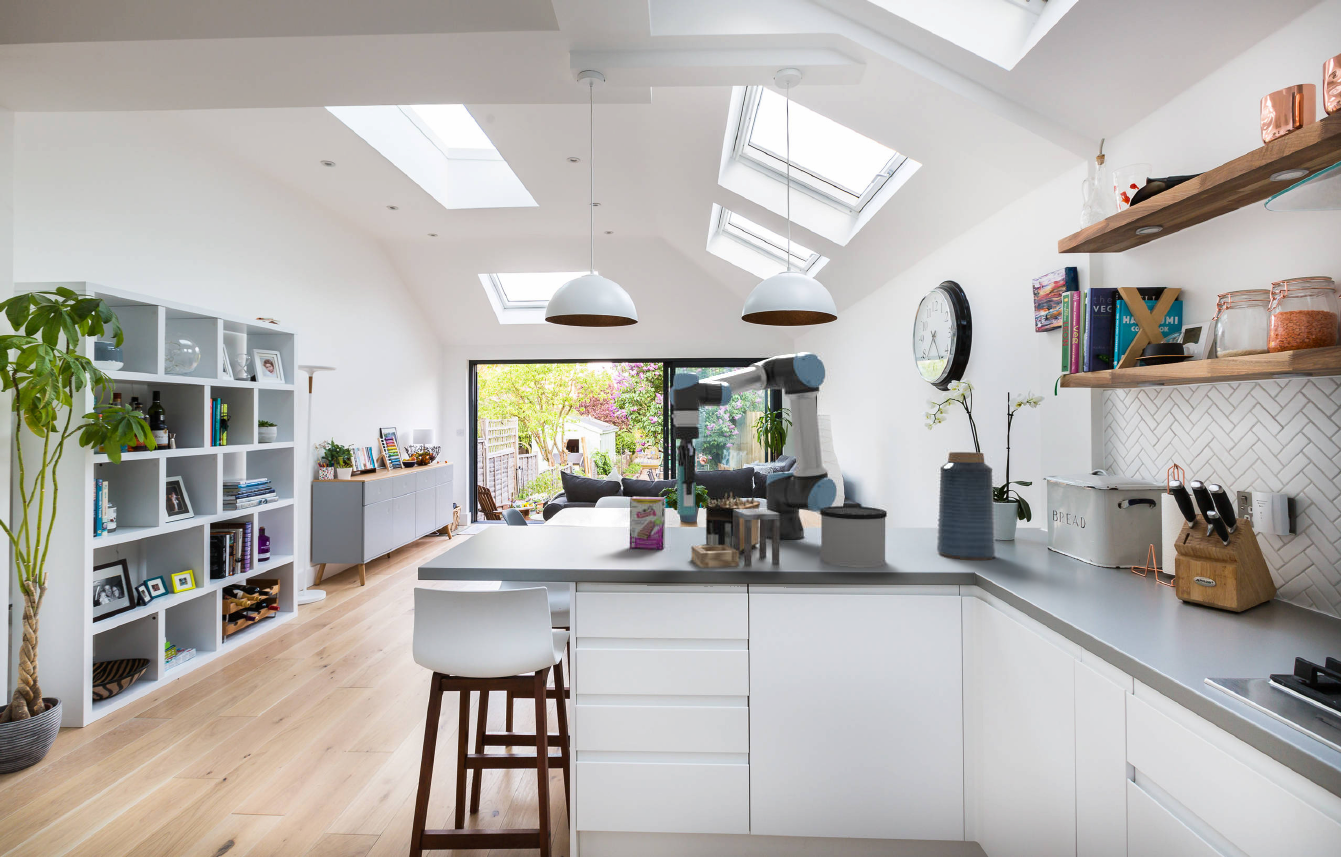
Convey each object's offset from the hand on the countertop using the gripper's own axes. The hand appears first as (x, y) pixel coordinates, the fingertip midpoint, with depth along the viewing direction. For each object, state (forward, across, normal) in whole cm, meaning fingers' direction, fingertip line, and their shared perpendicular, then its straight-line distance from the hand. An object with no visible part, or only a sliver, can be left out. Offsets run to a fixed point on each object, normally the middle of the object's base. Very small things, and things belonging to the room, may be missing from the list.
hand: (686, 504), depth 188 cm
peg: (+3, 0, 0) cm, 3 cm away
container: (+17, +9, +48) cm, 52 cm away
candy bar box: (+17, -21, -8) cm, 28 cm away
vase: (+17, +8, +86) cm, 88 cm away
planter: (+17, -14, +18) cm, 29 cm away
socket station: (+16, +5, +13) cm, 22 cm away
